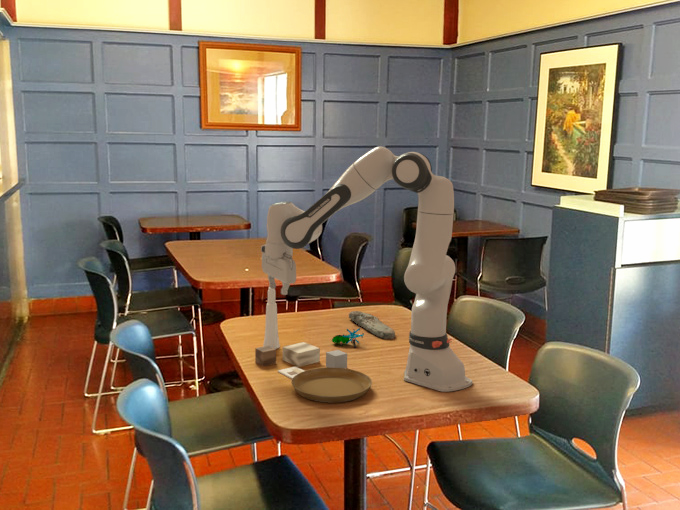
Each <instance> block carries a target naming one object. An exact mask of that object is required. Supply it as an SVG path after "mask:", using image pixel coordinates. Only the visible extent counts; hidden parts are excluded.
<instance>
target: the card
mask: <svg viewBox="0 0 680 510" xmlns="http://www.w3.org/2000/svg"><path fill="white" fill-rule="evenodd" d="M304 371H305V369H302V368H300V367H297V366H295V365H294V366H292V367H287V368H282V369H278V370H277V372H278V373H279V374H281V375H283V376H285V377H286V378H289V379H291V380H292V379H293V377H294V376H296V375H297V374H299V373H301V372H304Z"/></svg>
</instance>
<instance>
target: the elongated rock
mask: <svg viewBox="0 0 680 510" xmlns="http://www.w3.org/2000/svg"><path fill="white" fill-rule="evenodd" d="M348 318H349V319H350V320H351V321H352V322H353V321H354V322H355V323H356V324H358V325H357V326H359V327H360V326H361V327H360V328H362V327H363V328H364V329H365V330H366V331H368V332H369V333H371V334H372V335H374V336H375V335H376V336H375V337H378V338H381V339H385V340H393V339H395V338H396V333H395V330H394V329H393V328H391V327H390V326H388V325H387V324H386V323H384V322H382V321H381V320H380V319H379V318H378V316H375V315H372V314H371V313H366V312H364V311H360V310H355V311H354V310H353V311H351V312H349V313H348ZM354 322H353V323H354ZM355 323H354V324H355ZM356 324H355V325H356Z"/></svg>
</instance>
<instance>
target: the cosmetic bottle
mask: <svg viewBox="0 0 680 510" xmlns="http://www.w3.org/2000/svg"><path fill="white" fill-rule="evenodd" d="M277 305H278V304H277V303H276V288H274V289H272V288H270V287H269V286H268V290H267V303H266V307H265V325H264V326H265V327H264V328H265V329H264V340H263V345H262V347H264V346H270V347H272V348H274V349H276V350H278V349H279V348H280V347H281V344H280V339H279V329H278V327H279V326H278V306H277Z"/></svg>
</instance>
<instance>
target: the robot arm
mask: <svg viewBox="0 0 680 510" xmlns="http://www.w3.org/2000/svg"><path fill="white" fill-rule="evenodd" d="M432 169H433V168H432V164H431V161H430V159H429V158H428V157H427V156H426V155H425V154H423V153H419V152H417V151H407V152H405V153H403V154H400V155H395V154H394V153H393V152H392V151H391V150H390V149H389V148H387V147H385V146H382V145H381V146H376V147H373V148H372V149H370V150H369V151H367V152H365V154H363V155H361V156H360V157H359V158H358V159H357V160H356V161H354V162H353V163H352V164H351V165H350V166H348V167H347V168H346V170H344V172H343V173H342V174H341V175H340V177H339V178H338V179H337V180H336V181H335V182H334V184H333V185H332V186H331V187H330V189H329V190H328V191H327V192H326V193H324V195H322V197H320V198H319V199H318V200H317V201H316V202H315V203H314V204H312V205H311V206H310V207H308V208H307V209H306V210H303V209H301V208H299V207H298V206H296V205H295V204H294V203H293V202H291V201H280V202H275V203H272V204H270V205H269V207H268V212H267V215H266V217H267V218H266V232H267V237H266V241H265V244H263V245H261V247H260V252H261V269H262V272H263V273H264V274H266V275H267V279H268V283H269V286H268V288H269V287H270V288H272V289H274V288H275V289H276V288H277V283H276V281H275V280H278V281H280V282H281V284H282V287H281V288H280V295H283V296H286V295H288V291H289V287H290V285H291V284H295V283H296V281H297V264H296V261H295V260H294V259H293V254H294V253H293V251H294V250H293V249H295V250H299V249H302V248H304V247H306V246H307V245H308V244H311V243H312V242H314V241H316V240H317V239H319V237H320V236H321V234H322V233H323V223H325V222H326V221H327V220H328V219H329V218H330V217H332V216H333V215H334V214H335V213H337V212H338V211H340V210H342V209H344V208H346V207H348V206H351V205H353V204H356V203H358V202H360V201H363V200H364V199H366V198H368V197H369V196H370V195H372V194H373V193H374V192H376V191H377V190H378V189H379V188H380V187H382V185H384V184H385V183H386V182H388V181H391V180H394V182H395V183H396V185H398V186H399V187H400V188H403V189H406V190H408V191H410V192H413V193H415V194H417V197H418V203H417V204H418V205H417V206H418V207H417V217H416V230H415V238H414V242H413V246H412V248H411V252H410V257H409V262H408V264H407V267H406V270H405V272H404V275H403V280H404V284H405V286H406V288H407V289H408V290H409V291H410V292H412V293H414V294H415V297H414V302H413V304H412V307H411V317H410V318H411V319H410V321H411V323H410V331H409V334H408V342H409V348H408V349H409V350H408V355H407V362H406V366H405V370H404V373H403V374H404V377H403V381H405V382H408V383H412V384H415V385H418V386H421V387H424V388H425V387H426V388H427V389H428V388H429V389H432V390H435V391H439V392H442V393H444V392H447V393H449V392H455V391H459V390H463V389H467V388H468V387H471V386H472V384H473V379H471V378H469V377H467V376H466V368H465V365H464V362H463V361H462V360H461V359H460V358H459V357H458V355H457V354H456V353H455V352H454V350H453V349H452V348H451V347H450V343H453V341H452V340H453V338H448V334H447V315H448V314H447V313H448V304H449V302H450V301H449V300H450V295H451V293H452V292H451V291H452V286H453V279H454V277H455V273H456V264H455V262H454V260H453V259H452V258H451V257H450V255H447V252H448V249H449V247H450V243H451V242H452V235H453V224H454V214H455V195H454V194H455V191H454V185H453V182H452V181H451V180H450V179H449V178H447V177H445V176H443V175H442V176H441V175H435V174H434V173H433V172H432ZM275 289H274V290H275Z"/></svg>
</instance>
